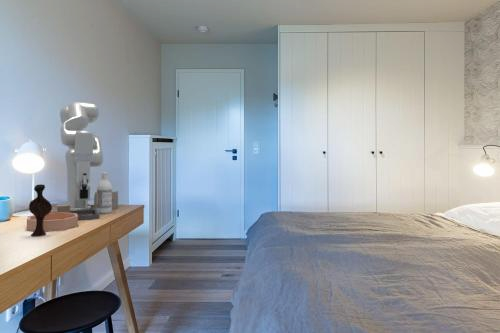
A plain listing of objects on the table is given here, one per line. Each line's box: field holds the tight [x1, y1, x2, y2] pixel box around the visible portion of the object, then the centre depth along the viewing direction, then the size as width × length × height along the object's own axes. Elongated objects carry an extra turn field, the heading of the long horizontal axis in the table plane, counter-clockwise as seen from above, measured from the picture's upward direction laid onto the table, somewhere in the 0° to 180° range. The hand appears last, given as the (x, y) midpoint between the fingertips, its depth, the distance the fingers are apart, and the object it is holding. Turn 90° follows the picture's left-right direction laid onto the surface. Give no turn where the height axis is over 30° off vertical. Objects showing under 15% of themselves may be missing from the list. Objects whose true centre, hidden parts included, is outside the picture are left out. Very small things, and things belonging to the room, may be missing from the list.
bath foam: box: [96, 171, 113, 214], centre depth 161 cm, size 7×7×20 cm
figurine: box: [28, 183, 53, 237], centre depth 115 cm, size 7×5×18 cm
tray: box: [50, 208, 100, 221], centre depth 146 cm, size 15×20×2 cm
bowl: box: [26, 212, 79, 233], centre depth 129 cm, size 17×17×4 cm
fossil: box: [93, 190, 119, 211], centre depth 169 cm, size 12×4×10 cm, turn 147°
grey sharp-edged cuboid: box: [77, 185, 91, 201], centre depth 149 cm, size 4×5×6 cm
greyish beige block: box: [56, 203, 70, 213], centre depth 144 cm, size 4×5×6 cm
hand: (83, 197), depth 149 cm, fingers closed on grey sharp-edged cuboid, 4 cm apart
